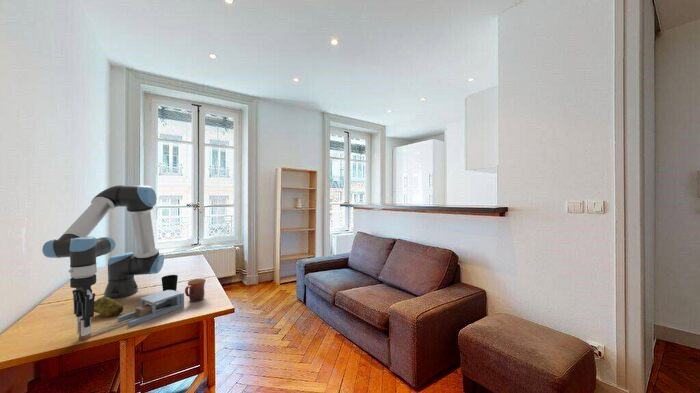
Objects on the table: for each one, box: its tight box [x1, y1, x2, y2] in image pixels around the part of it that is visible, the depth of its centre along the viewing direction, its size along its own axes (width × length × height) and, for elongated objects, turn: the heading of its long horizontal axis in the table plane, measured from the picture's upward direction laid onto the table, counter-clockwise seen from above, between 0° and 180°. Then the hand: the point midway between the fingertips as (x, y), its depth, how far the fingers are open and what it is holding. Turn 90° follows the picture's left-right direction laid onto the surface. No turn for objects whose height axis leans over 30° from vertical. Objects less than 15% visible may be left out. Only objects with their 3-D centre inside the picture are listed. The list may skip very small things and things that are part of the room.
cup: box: [161, 274, 179, 291], centre depth 150 cm, size 8×8×12 cm
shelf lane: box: [117, 290, 185, 328], centre depth 131 cm, size 11×24×8 cm, turn 153°
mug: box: [184, 278, 206, 302], centre depth 146 cm, size 12×9×10 cm
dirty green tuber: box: [94, 296, 124, 317], centre depth 129 cm, size 8×13×8 cm, turn 69°
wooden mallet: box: [78, 303, 152, 341], centre depth 118 cm, size 5×25×7 cm, turn 152°
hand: (84, 333), depth 108 cm, fingers closed on wooden mallet, 3 cm apart
